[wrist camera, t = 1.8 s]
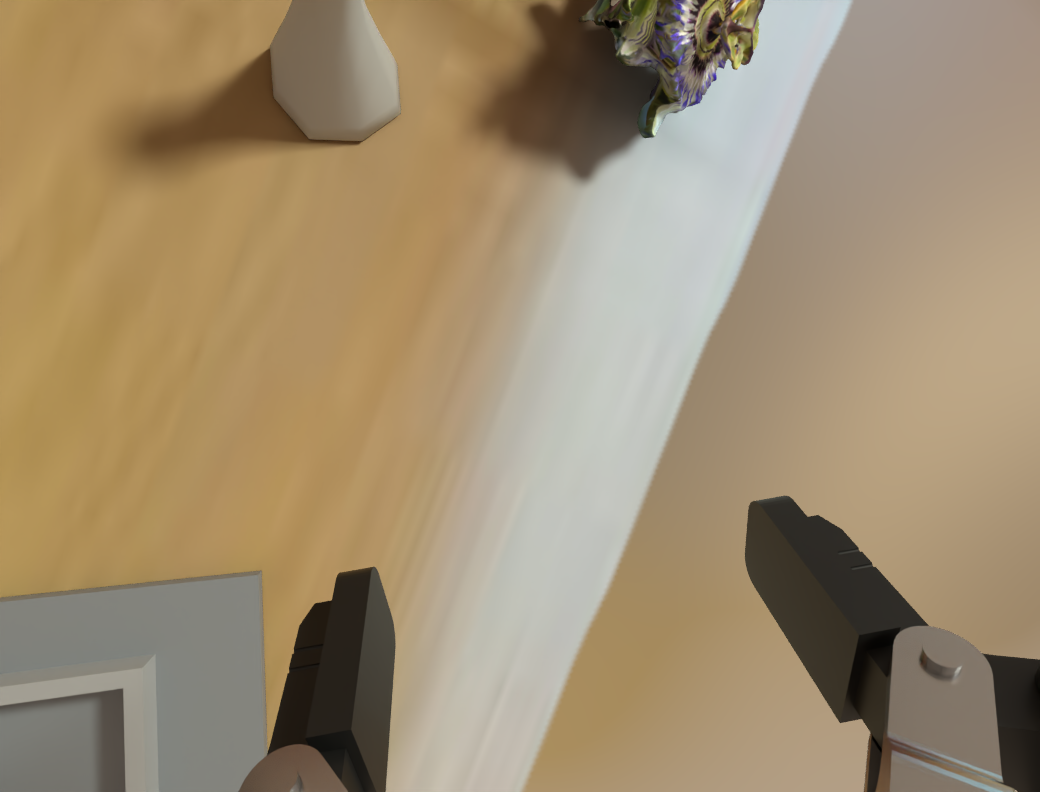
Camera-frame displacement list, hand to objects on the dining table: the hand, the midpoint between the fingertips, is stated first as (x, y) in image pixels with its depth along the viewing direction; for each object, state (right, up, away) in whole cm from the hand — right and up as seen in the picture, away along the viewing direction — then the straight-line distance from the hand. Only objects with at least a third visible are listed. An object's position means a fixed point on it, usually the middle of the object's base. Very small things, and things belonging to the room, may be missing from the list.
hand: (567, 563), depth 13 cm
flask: (-11, +21, +22) cm, 33 cm away
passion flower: (+6, +26, +27) cm, 37 cm away
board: (-23, -13, +17) cm, 31 cm away
